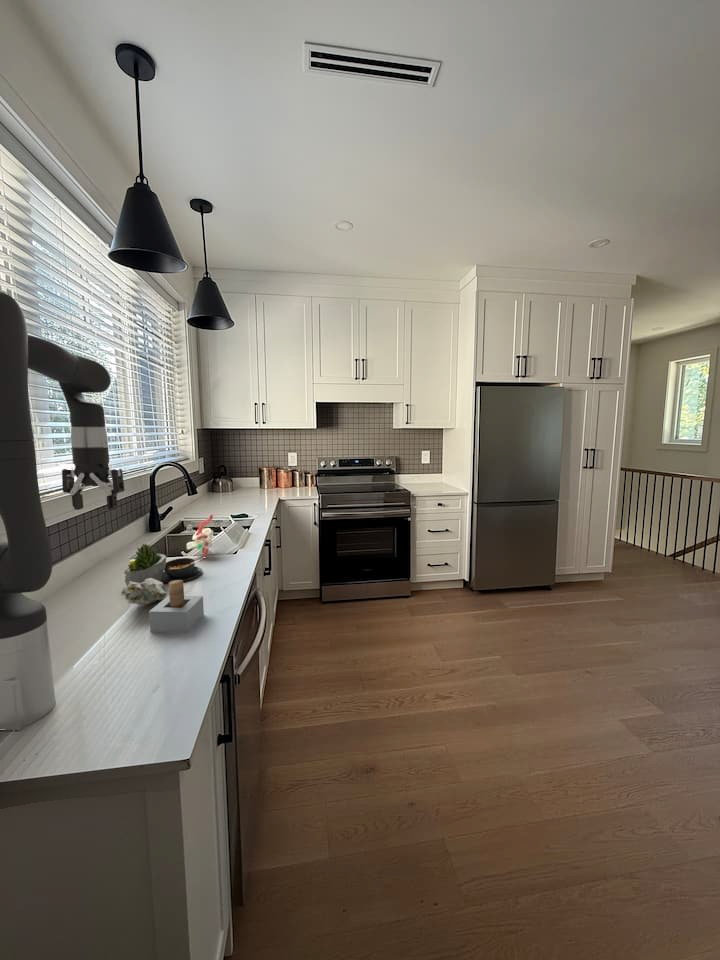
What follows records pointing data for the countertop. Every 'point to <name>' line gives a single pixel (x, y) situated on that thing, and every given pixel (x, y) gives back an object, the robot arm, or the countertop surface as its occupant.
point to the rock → (144, 592)
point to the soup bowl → (180, 570)
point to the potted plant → (145, 565)
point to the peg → (176, 594)
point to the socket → (176, 615)
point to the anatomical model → (202, 538)
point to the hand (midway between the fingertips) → (95, 509)
